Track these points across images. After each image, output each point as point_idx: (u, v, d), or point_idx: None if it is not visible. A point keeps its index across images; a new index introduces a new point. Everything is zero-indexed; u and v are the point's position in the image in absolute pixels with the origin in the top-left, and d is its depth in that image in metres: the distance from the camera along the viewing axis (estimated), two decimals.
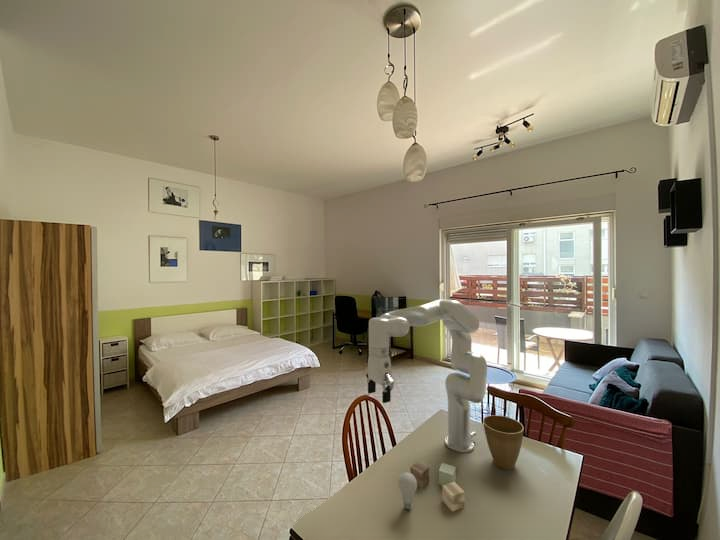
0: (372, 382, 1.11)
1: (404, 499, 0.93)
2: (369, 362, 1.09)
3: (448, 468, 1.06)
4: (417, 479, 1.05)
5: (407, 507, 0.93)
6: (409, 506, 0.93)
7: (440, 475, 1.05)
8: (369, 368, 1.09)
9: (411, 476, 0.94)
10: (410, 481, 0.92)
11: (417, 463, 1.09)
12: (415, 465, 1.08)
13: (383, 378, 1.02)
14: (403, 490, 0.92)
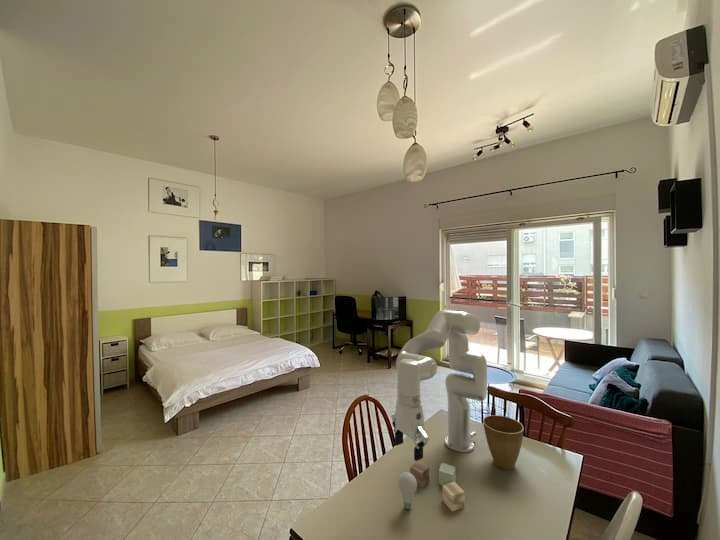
0: (399, 432, 0.98)
1: (404, 499, 0.93)
2: (397, 410, 0.96)
3: (448, 468, 1.06)
4: (417, 479, 1.05)
5: (407, 507, 0.93)
6: (409, 506, 0.93)
7: (440, 475, 1.05)
8: (397, 417, 0.96)
9: (411, 476, 0.94)
10: (410, 481, 0.92)
11: (417, 463, 1.09)
12: (415, 465, 1.08)
13: (415, 432, 0.90)
14: (403, 490, 0.92)
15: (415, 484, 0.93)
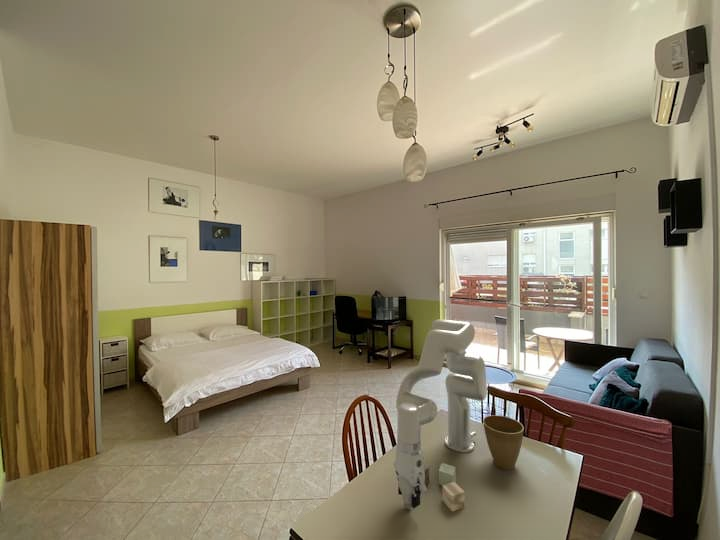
0: None
1: (404, 499, 0.93)
2: (397, 455, 0.96)
3: (448, 468, 1.06)
4: None
5: (407, 507, 0.93)
6: (409, 506, 0.93)
7: (440, 475, 1.05)
8: (397, 462, 0.96)
9: None
10: None
11: None
12: None
13: (415, 483, 0.90)
14: (404, 491, 0.91)
15: None
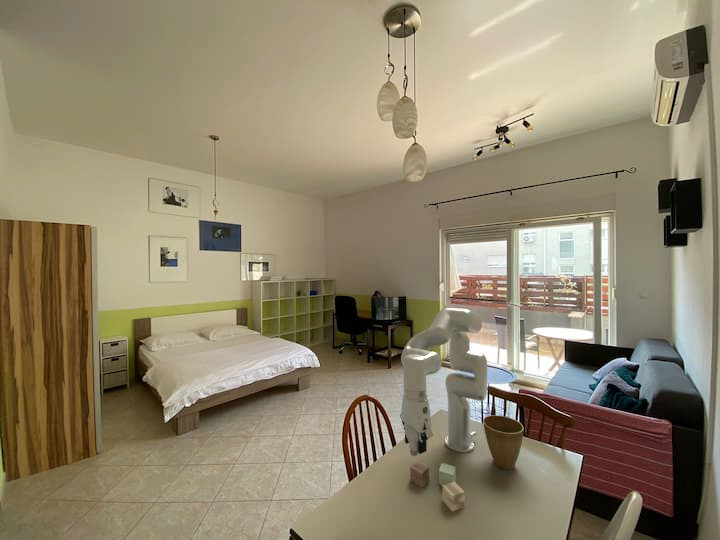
0: None
1: (411, 446, 0.95)
2: (404, 405, 0.98)
3: (448, 468, 1.06)
4: (417, 479, 1.05)
5: (414, 454, 0.95)
6: (415, 453, 0.95)
7: (440, 475, 1.05)
8: (404, 411, 0.98)
9: None
10: None
11: (417, 463, 1.09)
12: (415, 465, 1.08)
13: (422, 428, 0.91)
14: (410, 437, 0.93)
15: None
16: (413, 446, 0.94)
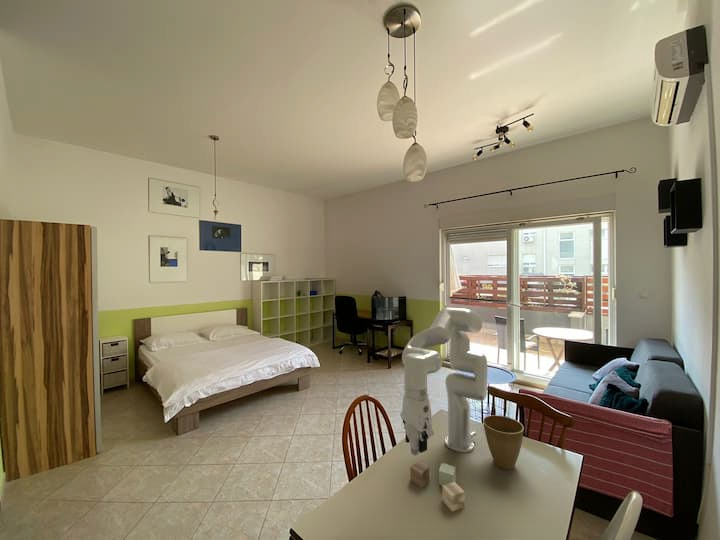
0: None
1: (411, 445, 0.95)
2: (404, 403, 0.98)
3: (448, 468, 1.06)
4: (417, 479, 1.05)
5: (414, 453, 0.95)
6: (416, 452, 0.95)
7: (440, 475, 1.05)
8: (404, 410, 0.98)
9: None
10: None
11: (417, 463, 1.09)
12: (415, 465, 1.08)
13: (422, 427, 0.92)
14: (411, 436, 0.94)
15: (423, 431, 0.94)
16: (414, 445, 0.94)
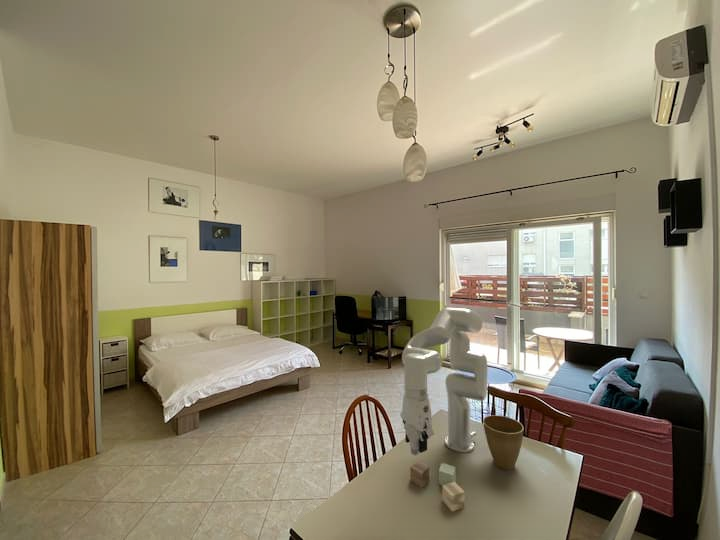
0: None
1: (411, 445, 0.95)
2: (404, 403, 0.98)
3: (448, 468, 1.06)
4: (417, 479, 1.05)
5: (414, 453, 0.95)
6: (416, 452, 0.95)
7: (440, 475, 1.05)
8: (404, 410, 0.98)
9: None
10: None
11: (417, 463, 1.09)
12: (415, 465, 1.08)
13: (422, 427, 0.92)
14: (411, 436, 0.94)
15: (423, 431, 0.94)
16: (414, 445, 0.94)
